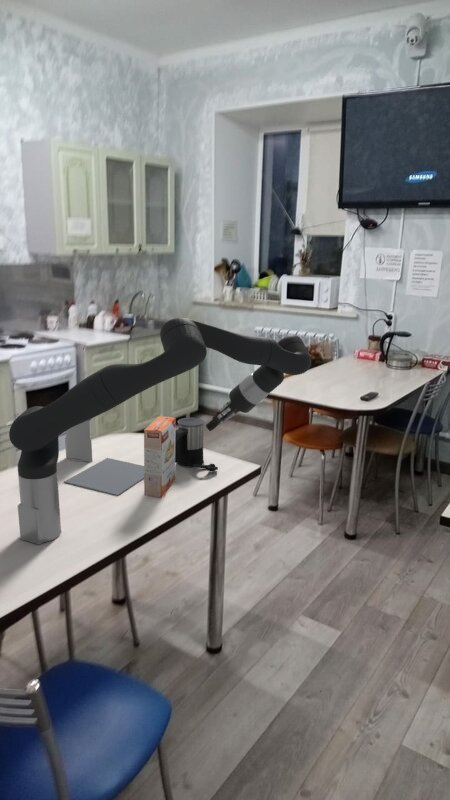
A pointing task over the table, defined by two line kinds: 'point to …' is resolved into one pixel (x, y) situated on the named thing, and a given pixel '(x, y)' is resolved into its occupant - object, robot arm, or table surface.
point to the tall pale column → (79, 443)
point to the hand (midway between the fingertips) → (208, 427)
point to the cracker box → (159, 456)
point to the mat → (109, 476)
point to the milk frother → (191, 444)
